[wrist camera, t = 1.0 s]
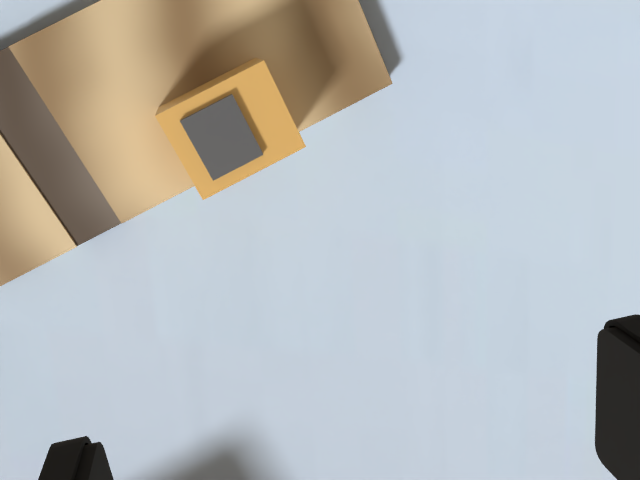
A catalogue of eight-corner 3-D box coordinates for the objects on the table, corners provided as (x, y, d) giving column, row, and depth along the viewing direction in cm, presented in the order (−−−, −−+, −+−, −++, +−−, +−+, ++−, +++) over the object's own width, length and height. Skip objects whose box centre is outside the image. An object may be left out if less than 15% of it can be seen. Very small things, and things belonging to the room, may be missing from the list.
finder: (255, 57, 28) (264, 60, 25) (292, 134, 30) (307, 147, 26) (158, 106, 28) (154, 116, 25) (201, 182, 30) (203, 201, 26)
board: (309, -101, 28) (314, -107, 27) (385, 81, 31) (392, 83, 30) (-132, 119, 27) (-146, 123, 26) (-7, 284, 30) (-14, 293, 29)
